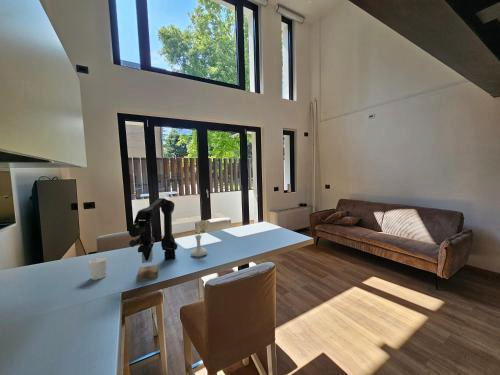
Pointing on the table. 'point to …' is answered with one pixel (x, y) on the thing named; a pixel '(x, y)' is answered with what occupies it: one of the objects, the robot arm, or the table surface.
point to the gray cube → (148, 259)
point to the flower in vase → (199, 250)
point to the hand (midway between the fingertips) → (147, 258)
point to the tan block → (147, 272)
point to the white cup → (98, 268)
